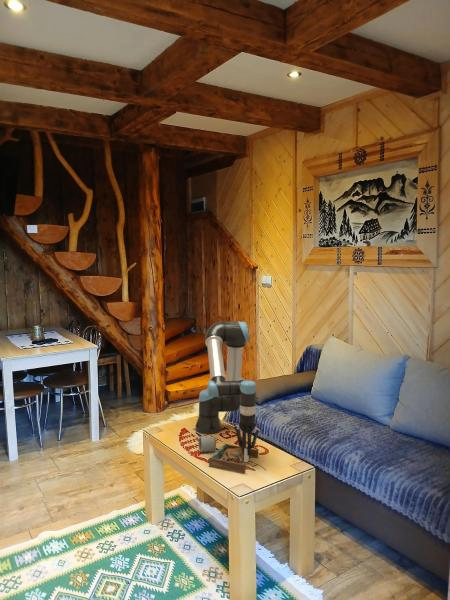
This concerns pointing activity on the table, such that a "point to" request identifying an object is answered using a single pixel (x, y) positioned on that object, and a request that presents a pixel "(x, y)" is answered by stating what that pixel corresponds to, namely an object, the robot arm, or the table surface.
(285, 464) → the table surface
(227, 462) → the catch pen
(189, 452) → the table surface
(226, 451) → the lion figurine
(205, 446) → the ceramic mug
